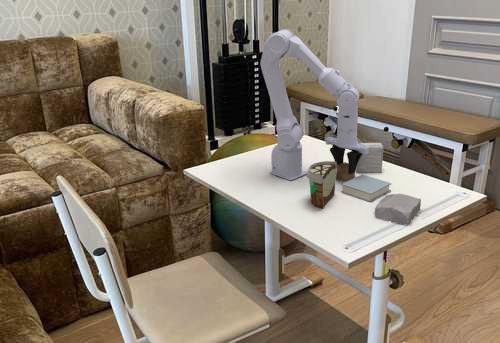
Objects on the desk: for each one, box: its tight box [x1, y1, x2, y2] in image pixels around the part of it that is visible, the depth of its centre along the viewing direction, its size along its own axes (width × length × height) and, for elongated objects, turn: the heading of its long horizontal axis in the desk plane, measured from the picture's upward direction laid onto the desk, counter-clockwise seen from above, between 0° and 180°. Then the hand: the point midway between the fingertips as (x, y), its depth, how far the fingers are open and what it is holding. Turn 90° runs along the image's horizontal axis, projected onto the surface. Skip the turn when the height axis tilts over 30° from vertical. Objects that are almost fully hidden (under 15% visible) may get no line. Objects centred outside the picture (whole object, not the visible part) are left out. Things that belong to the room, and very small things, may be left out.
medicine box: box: [355, 142, 384, 174], centre depth 156 cm, size 8×4×9 cm, turn 84°
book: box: [341, 173, 392, 203], centre depth 142 cm, size 10×10×2 cm
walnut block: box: [335, 161, 356, 183], centre depth 151 cm, size 4×4×4 cm
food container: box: [306, 160, 337, 210], centre depth 137 cm, size 12×6×10 cm, turn 152°
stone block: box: [374, 193, 422, 226], centre depth 130 cm, size 12×5×10 cm
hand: (345, 171), depth 151 cm, fingers closed on walnut block, 4 cm apart
